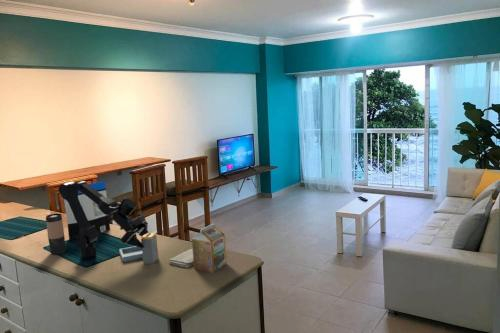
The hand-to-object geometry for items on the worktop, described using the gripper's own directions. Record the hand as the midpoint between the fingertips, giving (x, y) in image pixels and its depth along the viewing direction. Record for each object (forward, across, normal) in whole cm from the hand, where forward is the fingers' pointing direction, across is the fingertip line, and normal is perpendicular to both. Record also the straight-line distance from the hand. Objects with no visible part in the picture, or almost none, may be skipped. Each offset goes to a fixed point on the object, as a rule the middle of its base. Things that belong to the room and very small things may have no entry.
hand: (147, 243), depth 197 cm
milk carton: (+29, -4, -16) cm, 33 cm away
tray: (-2, +6, +14) cm, 15 cm away
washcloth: (+20, +3, -7) cm, 22 cm away
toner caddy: (+7, 0, +6) cm, 9 cm away
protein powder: (-32, +36, +44) cm, 65 cm away
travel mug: (-33, +8, +44) cm, 56 cm away
